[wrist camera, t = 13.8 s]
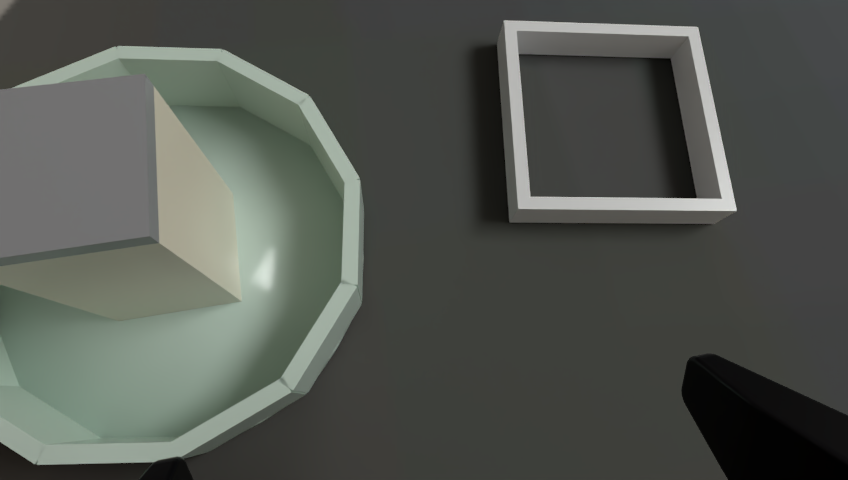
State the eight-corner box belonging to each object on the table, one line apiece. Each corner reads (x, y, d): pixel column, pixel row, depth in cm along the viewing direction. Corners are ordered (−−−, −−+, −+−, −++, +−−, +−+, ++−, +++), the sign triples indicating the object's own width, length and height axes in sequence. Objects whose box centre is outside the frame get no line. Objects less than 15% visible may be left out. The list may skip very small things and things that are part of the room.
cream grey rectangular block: (241, 301, 22) (149, 236, 14) (118, 321, 22) (-59, 266, 13) (233, 193, 24) (144, 73, 15) (117, 209, 23) (-44, 94, 14)
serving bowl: (360, 447, 21) (353, 457, 17) (-51, 456, 20) (-161, 469, 16) (366, 107, 26) (363, 53, 22) (35, 100, 25) (-34, 41, 21)
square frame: (713, 223, 26) (736, 210, 24) (509, 222, 25) (518, 208, 23) (679, 49, 29) (697, 27, 27) (496, 43, 28) (504, 20, 26)
